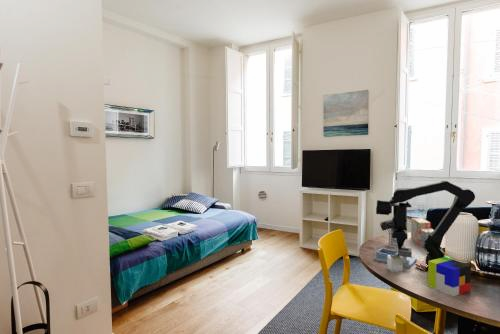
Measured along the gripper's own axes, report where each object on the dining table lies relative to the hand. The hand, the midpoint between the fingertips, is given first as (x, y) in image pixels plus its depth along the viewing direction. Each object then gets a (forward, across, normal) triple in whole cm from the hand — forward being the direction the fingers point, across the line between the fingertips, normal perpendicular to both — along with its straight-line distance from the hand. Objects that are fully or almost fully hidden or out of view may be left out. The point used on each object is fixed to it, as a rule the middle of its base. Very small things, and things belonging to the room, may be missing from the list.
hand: (399, 248), depth 146 cm
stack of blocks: (+8, -38, +12) cm, 40 cm away
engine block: (+7, +9, -2) cm, 12 cm away
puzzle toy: (+8, +20, +17) cm, 27 cm away
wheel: (+3, 0, +2) cm, 3 cm away
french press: (+7, -29, -2) cm, 30 cm away
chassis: (+7, -3, -2) cm, 8 cm away
